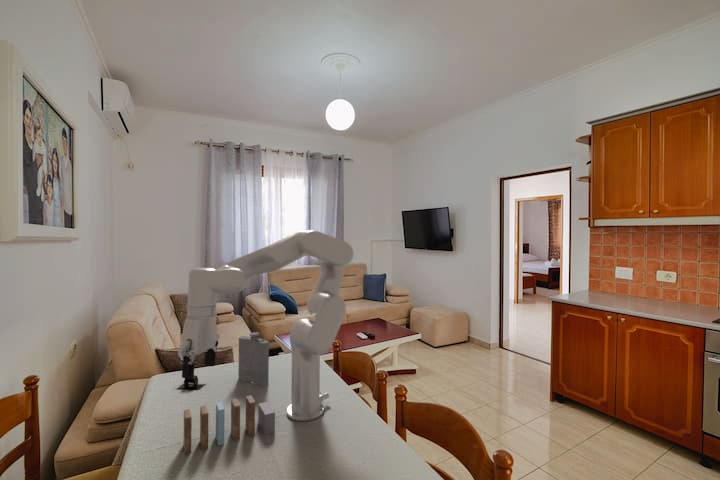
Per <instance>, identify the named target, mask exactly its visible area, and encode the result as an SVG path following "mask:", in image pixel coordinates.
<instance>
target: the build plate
mask: <svg viewBox="0 0 720 480" xmlns="http://www.w3.org/2000/svg"><path fill="white" fill-rule="evenodd" d="M205 386H206V384H204V383H199V377H198V375H195V374H194V378H192V379H188V378H184V380H183V383H182V384H181V385H179V386H178V387H177V388H176V389H175V390H178V391H179V390H180V391H199V390H201V389H202V388H203V387H205Z"/></svg>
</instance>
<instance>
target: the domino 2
mask: <svg viewBox="0 0 720 480" xmlns="http://www.w3.org/2000/svg"><path fill="white" fill-rule="evenodd" d="M199 407H200V408H199V409H200V411H199V415H200V416H199V417H200V419H199V428H200V429H199V443H200V447H201V450H202V451H203V450H207V449H209V409H208V405H206V404H205V405H201V406H199Z"/></svg>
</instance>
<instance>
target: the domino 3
mask: <svg viewBox="0 0 720 480" xmlns="http://www.w3.org/2000/svg"><path fill="white" fill-rule="evenodd" d="M225 411H226V410H225V407H224V404H223V401H220V402H219V401H218V402H215V438H216V442H217V445H218V446H220V445H224V444H225V413H226V412H225Z"/></svg>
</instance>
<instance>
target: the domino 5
mask: <svg viewBox="0 0 720 480" xmlns="http://www.w3.org/2000/svg"><path fill="white" fill-rule="evenodd" d="M255 422H256V401H255V399H254V397H253V396H252V395H251V394H250V395H246V396H245V431H246V432H247V434H248V436H249V437H252V436H255V431H256V424H255Z"/></svg>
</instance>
